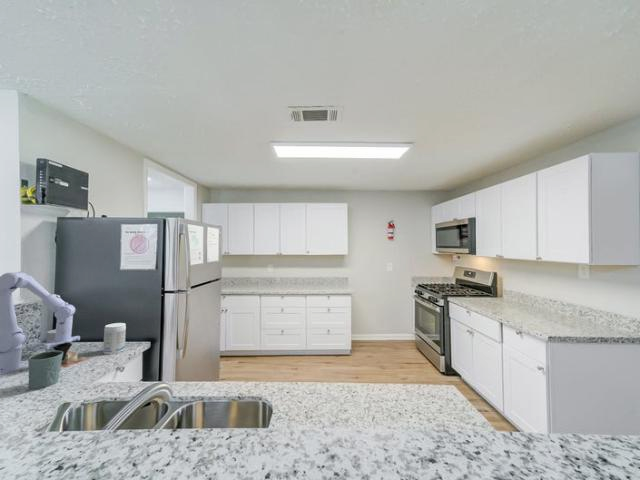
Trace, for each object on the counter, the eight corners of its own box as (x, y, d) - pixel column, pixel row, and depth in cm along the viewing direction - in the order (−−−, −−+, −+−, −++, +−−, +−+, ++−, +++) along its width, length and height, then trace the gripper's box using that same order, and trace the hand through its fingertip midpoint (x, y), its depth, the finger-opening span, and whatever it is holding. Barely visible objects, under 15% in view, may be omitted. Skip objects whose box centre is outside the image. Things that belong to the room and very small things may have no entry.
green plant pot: (58, 377, 118) (61, 348, 119) (62, 384, 112) (65, 354, 112) (24, 385, 110) (27, 354, 111) (26, 393, 104) (29, 361, 104)
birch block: (67, 363, 131) (68, 354, 132) (59, 362, 132) (60, 353, 132) (77, 360, 136) (77, 351, 136) (69, 359, 137) (70, 350, 137)
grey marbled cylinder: (57, 358, 139) (59, 333, 139) (39, 357, 139) (41, 332, 140) (74, 351, 148) (76, 328, 149) (57, 351, 148) (59, 328, 149)
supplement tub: (123, 347, 156) (125, 321, 157) (125, 352, 149) (127, 325, 150) (102, 351, 150) (104, 324, 151) (102, 356, 143) (104, 327, 144)
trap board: (65, 367, 128) (65, 366, 128) (46, 365, 129) (46, 364, 130) (90, 358, 139) (90, 357, 140) (73, 356, 141) (73, 355, 141)
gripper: (53, 335, 124) (50, 366, 123) (85, 327, 138) (83, 355, 137) (41, 334, 125) (38, 364, 124) (74, 326, 139) (72, 353, 138)
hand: (61, 359), depth 131 cm, fingers closed
